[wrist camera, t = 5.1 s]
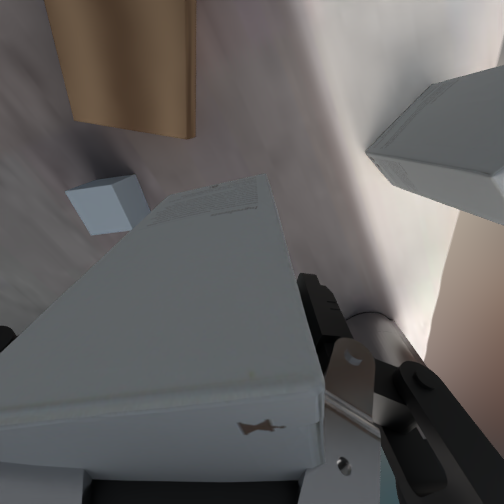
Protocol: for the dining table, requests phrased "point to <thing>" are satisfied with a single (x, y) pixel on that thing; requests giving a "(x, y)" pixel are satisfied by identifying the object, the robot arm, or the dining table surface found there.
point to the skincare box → (451, 145)
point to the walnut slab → (129, 62)
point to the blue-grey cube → (110, 204)
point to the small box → (174, 354)
